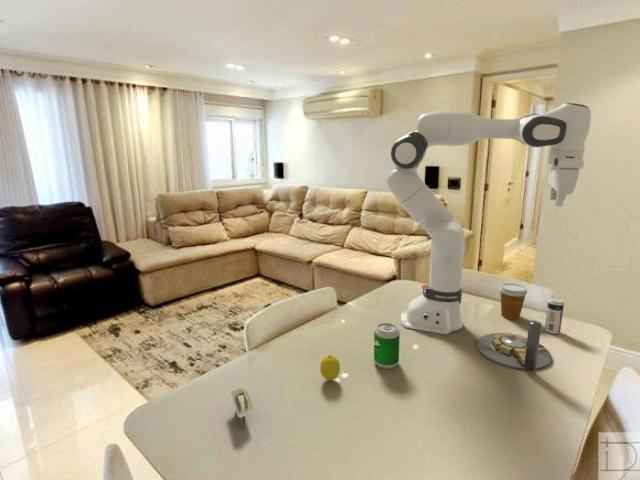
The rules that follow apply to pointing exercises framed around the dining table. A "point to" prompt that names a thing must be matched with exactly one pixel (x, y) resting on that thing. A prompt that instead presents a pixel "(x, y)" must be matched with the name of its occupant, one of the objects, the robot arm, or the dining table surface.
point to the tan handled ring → (524, 355)
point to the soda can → (386, 345)
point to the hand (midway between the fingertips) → (555, 202)
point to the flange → (514, 342)
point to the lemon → (330, 367)
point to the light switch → (247, 402)
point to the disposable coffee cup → (512, 300)
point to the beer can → (554, 315)
